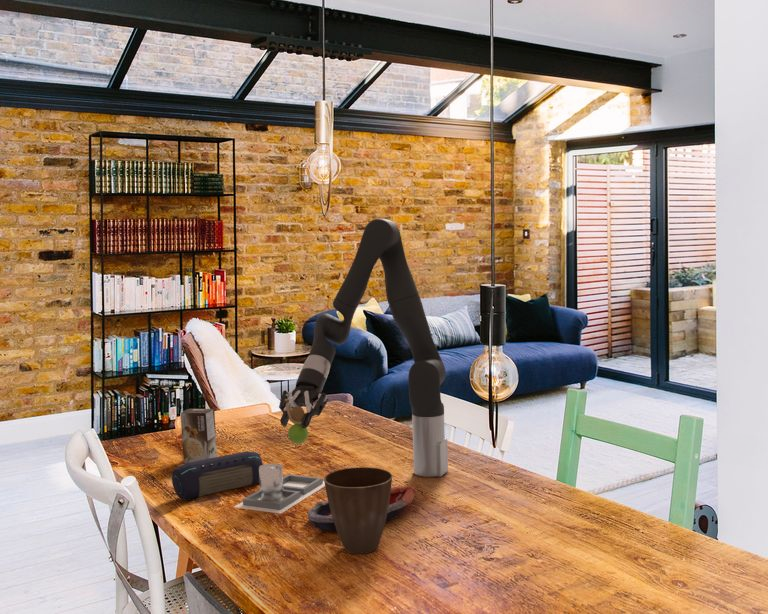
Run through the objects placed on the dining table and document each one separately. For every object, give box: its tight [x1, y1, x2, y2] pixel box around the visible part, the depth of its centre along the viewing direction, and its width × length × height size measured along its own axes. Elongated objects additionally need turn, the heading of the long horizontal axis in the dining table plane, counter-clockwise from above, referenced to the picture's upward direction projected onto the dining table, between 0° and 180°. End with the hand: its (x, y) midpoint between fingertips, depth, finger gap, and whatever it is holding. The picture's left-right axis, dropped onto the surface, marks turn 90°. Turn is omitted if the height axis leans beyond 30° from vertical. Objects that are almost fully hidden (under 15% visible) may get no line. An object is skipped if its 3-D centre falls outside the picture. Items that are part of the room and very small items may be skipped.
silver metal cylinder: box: [258, 462, 284, 502], centre depth 197 cm, size 6×6×9 cm
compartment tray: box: [233, 473, 325, 514], centre depth 203 cm, size 14×26×3 cm, turn 156°
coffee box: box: [180, 408, 218, 464], centre depth 242 cm, size 9×6×16 cm
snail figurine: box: [285, 399, 309, 445], centre depth 210 cm, size 5×6×12 cm
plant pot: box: [323, 466, 393, 555], centre depth 169 cm, size 15×15×16 cm
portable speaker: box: [171, 451, 264, 501], centre depth 210 cm, size 25×10×10 cm, turn 124°
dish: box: [307, 486, 416, 532], centre depth 188 cm, size 16×31×5 cm, turn 124°
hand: (293, 425), depth 208 cm, fingers closed on snail figurine, 5 cm apart
